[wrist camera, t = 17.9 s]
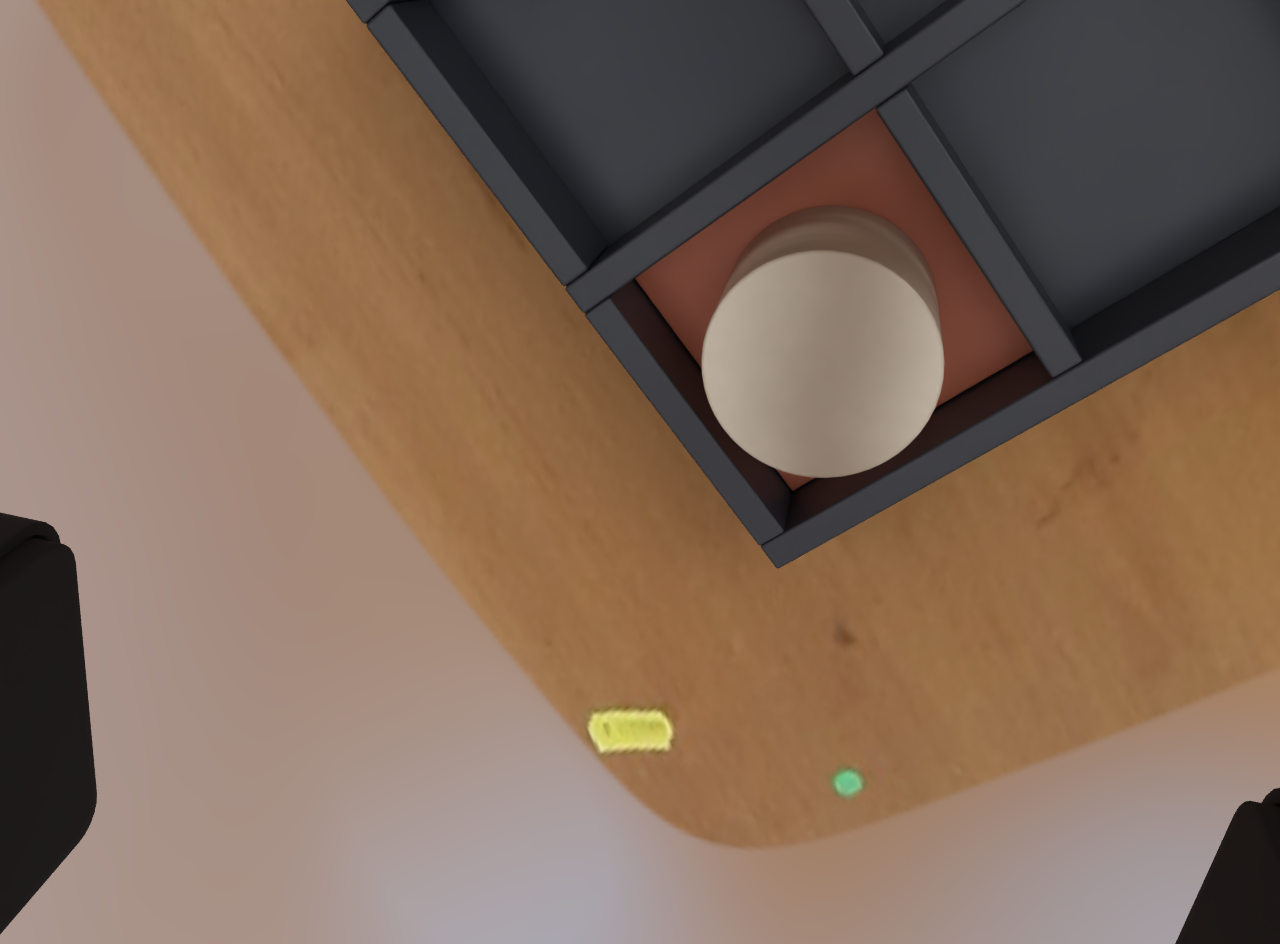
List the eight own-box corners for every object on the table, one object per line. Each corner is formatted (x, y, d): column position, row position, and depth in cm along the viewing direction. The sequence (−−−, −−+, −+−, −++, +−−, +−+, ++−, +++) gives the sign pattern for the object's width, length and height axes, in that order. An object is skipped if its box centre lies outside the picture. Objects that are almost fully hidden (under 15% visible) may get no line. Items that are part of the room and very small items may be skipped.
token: (709, 383, 28) (683, 451, 24) (746, 186, 26) (724, 228, 22) (908, 425, 27) (910, 501, 24) (961, 227, 25) (973, 277, 22)
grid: (393, -12, 26) (340, -6, 24) (1018, -587, 20) (1035, -658, 18) (786, 515, 30) (777, 570, 27) (1418, 152, 24) (1480, 179, 21)
